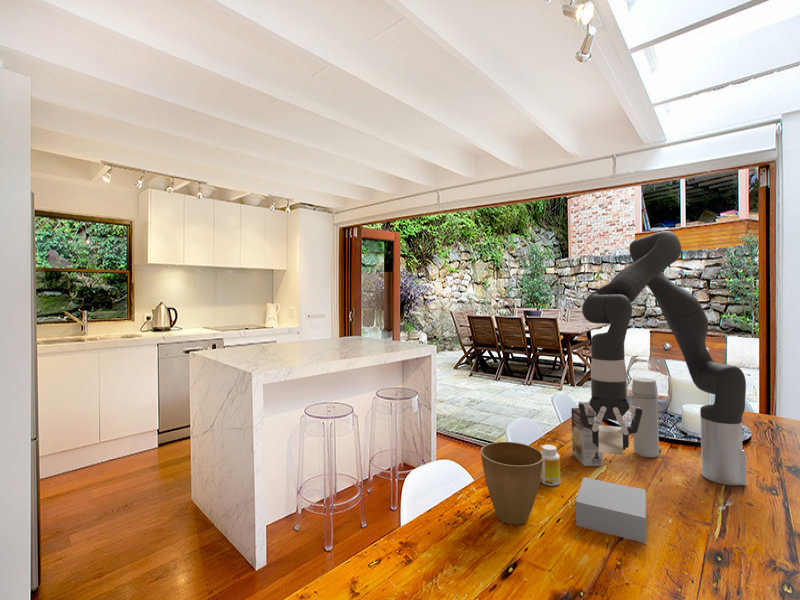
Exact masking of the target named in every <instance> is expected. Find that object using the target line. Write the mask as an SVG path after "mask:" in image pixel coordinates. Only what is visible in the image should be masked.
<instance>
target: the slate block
mask: <svg viewBox="0 0 800 600" xmlns="http://www.w3.org/2000/svg"><path fill="white" fill-rule="evenodd" d="M646 490H647V489H644V488H638V487H634V486H629V485H628V486H627V485H623V484H618V483H615V482H608V481H605V480H604V481H603V480H600V479H594V478H589V477H582V481H581V483H580V486H579V490H578V492H577V496H576V500H575V525H576V526H578V527H581V528H585V529H588V530H592V531H597V532H599V533H600V532H601V533H603V534H607V535H611V534H612V535H611V536H614V535H616V536H615V537H618V536H619V538H622V537H623V538H624V539H627V540H629V539H631V540H630V541H633V540H636V541H635V542H637V541H640V542H639V543H641V542H643V543H642V544H645V543H647V542H646V541H647V495H646V492H647V491H646Z"/></svg>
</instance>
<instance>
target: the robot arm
mask: <svg viewBox="0 0 800 600" xmlns="http://www.w3.org/2000/svg"><path fill="white" fill-rule="evenodd" d="M681 253H682V244H681V241H680V239H679V238H678V236H677V235H676V234H675V233H674V232H672V231H669V230H661V231H659V232H655V233H651V234H648V235H646V236H645V235H644V236H643V237H640V238H636V239H634V240H632V241H631V243H630V244H629V255H630V257H631V260H632V263H630V264H628V265H627V266H626V267H624V268H623V269H621V270H620V271H619V272H618V273H617V274H616V275H615V276H614V277H613V278H612V279H611V280H610V281H609V282H608V283H607V284H605V285H604V286H602V287H600V288H598V289H597V290H594V291H592V293H590V294H589V295H588V296H587V297H586V298H585V300H584V302H583V304H582V307H581V312H582V316H583V318H584V319H585V320H586V321H588V322H589V323H592V324H605V325H606V324H608V325H609V328H608V330H607V331H606V332H601V333H596V334H593V335H592V337H591V342H590V343H591V344H590V345H591V362H590V383H591V385H590V389H591V392H590V393H591V394H590V395H591V397H590V400H589V401H578V402H577V403H578V407H577V408H579V411H580V414H581V418H582V421H583V425H584V427H585V428H589V429H591V430H592V441H593V444H596V447H599V437H598V428H599V425H600V423H601V421H602V422H603V420H605V421H606V420H610V421H616V422H617V423H618V425H619V427H621V430H622V434H623V451H626V449H628V448H629V447H630V445H629V444H630V443H629V440H630V439H629V437H628V436H630V435H631V434H632V433H637V431H638V427H639V423H640V419H641V416H642V409H641V407H640V406H636V407H635V406H633V404H630V405H629V403H630V402H628V399H627V398H628V395H627V394H628V393H627V390H628V388H627V377H628V375H627V367H626V361H625V357H626V356H625V340H626V335H627V332H628V328H629V324H630V321H631V318H632V314H633V306H632V303H633V302H634V301H635V300H637V298H638V296H639V295H640V294H641V293H642V291H643V290H644V289H645V288H646V286H648V288H649V289H650V291H651V293H652V295H653V296H654V299H655V300H656V303H657V304H658V306H659V308H660V311H661V313H662V316H663V317H664V320H665V321H666V323H667V325H668V327H669V329H670V331H671V333H672V334H673V336H674V338H675V340H676V343H677V345H678V347H679V349H680V351H681V353H682V356H683V358H684V362H685V363H686V367H687V369H688V372H689V376H690V378H691V380H692V382H693V384H694V385H695V386H696V388H698V390H700V391H702V392H704V393H707V394H711V395H714V403H713V404H706V405H703V406H701V407H700V411H699V412H700V413H699V414H700V451H701V452H700V453H701V475H702V477H704V479H706V480H709V481H711V482H713V483H717V484H720V485H724V486H725V485H726V486H733V487H735V486H747V463H746V460H747V459H746V456H747V455H746V453H747V452H746V450H744V448H743V422H742V421H743V416H744V413H745V409H746V393H747V381H746V376H745V373H744V372H743V370H742V369H741V368H739V367H738V366H736V365H733V364H727V363H721V362H717V361H716V362H715V360H713V358H712V357H711V355H710V353H709V350H708V348H707V346H706V339H707V335H708V332H709V331H708V330H709V319H708V317H707V315H706V313H705V311H704V309H703V307H702V305H701V303H700V302H699V300H698V299H697V298H696V296H694V295H693V294H691V293H690V292H689V291H687V290H686V289H684V288H682V287H681V286H679V285H677V284H676V283H674V282H673V281H671V280H670V279H669V278H668V277H667V276H666V275H665V273H664V272H663V271H664V270H666V268H668V267H670V266H671V265H672V264H674V263H675V262H676V261H677V260H678V259H679V257H680V256H681ZM588 407H590V408H591V409H593V410H594V411H595V413H596V415H595V418H594V421H593V423H591V422H589V421H588V417H587V414H586V412H587V411H588ZM628 412H630V414H632V420H631V423H630V425H628V426H627V423H626V422H625V420H624V418H623V417H624V416H625V414H626V413H628Z"/></svg>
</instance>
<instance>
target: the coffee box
mask: <svg viewBox="0 0 800 600" xmlns="http://www.w3.org/2000/svg"><path fill="white" fill-rule="evenodd" d="M570 410H571V412H570V413H571V439H572V440H571V441H572V442H571V444H572V445H571V446H572V450H571V451H572V455H573V456H574V458H576V459H577V461H578V462H580V464H582V465H583V467H598V466H599V467H600V466H601V467H602V466H603V465H604V459H603V458H604V457H603V456H604V455H603V454H604V453H601V452H599V447H596V444H593V441H592V430H591V429H589V428H585V427H584V425H583V421H582V418H581V414H580V411H579V407H573V408H571V409H570ZM586 414H587V417H588V421H589V422H591V423H593V421H594V418H595V415H596V413H595V411H594V410H593V409H592V408H591V406H589V407H588V411H587V412H586ZM600 425H603V420H602V421H601V423H600Z"/></svg>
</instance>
